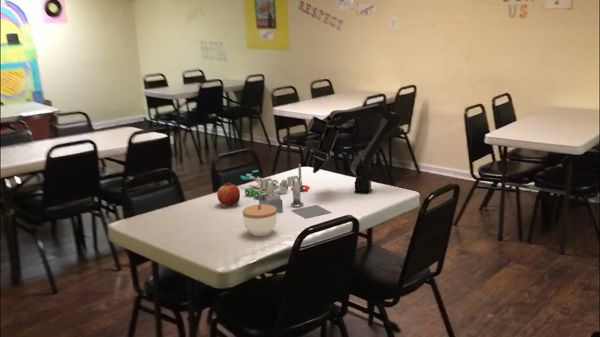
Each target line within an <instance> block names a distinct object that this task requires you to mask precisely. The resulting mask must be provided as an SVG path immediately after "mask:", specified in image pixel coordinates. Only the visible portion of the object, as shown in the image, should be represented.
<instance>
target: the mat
mask: <svg viewBox="0 0 600 337" xmlns="http://www.w3.org/2000/svg"><path fill="white" fill-rule="evenodd" d="M290 211H291V212H293V213H295V214H296V215H298V214H299V215H298V216H300V217H302V218H304V219H309V218H315V217H321V216H323V215H328V214H332V212H331V211H330V210H328V209H327V208H326V209H325V208H324V207H321V206H320V205H318V204H314V205H309V206H305V207H304V206H303V207H298V208H295V209H292V210H290Z"/></svg>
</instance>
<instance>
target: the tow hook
mask: <svg viewBox="0 0 600 337" xmlns="http://www.w3.org/2000/svg"><path fill="white" fill-rule="evenodd" d="M301 167H302V166H301V163H299V164H298V178H300V193H304V192H305V191H306V192H308V191H309V190H310V186H309V185H305V184H303V180H302V168H301ZM304 187H305V188H304ZM290 188H291V189H290V190H291V191H293V188H292V186H291V187H290Z"/></svg>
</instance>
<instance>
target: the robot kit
mask: <svg viewBox="0 0 600 337" xmlns="http://www.w3.org/2000/svg"><path fill="white" fill-rule="evenodd" d="M259 176H260V171H259V169H256V170H252V171H251V173H246V174H245V176H244V175H240V179H242V180H244V181H248V180H251V181H253V182H254V183H256V185H252V187H250V186H249V187H246V188H245V189H244V194H245V197H248V198H249V197H253V196H254V198H255V199H256V200H259V197H260V194H262V193H266V183H265V189H261V183H260V180H261V179H263V178H262V177H259ZM272 180H273V186H274V192H275V194H280V193H284V192H287V191H288V189H289V187H288V185H287V179H282V180H281V182H280V183H279V181H278V180H277V179H272Z"/></svg>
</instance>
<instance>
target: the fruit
mask: <svg viewBox="0 0 600 337" xmlns="http://www.w3.org/2000/svg"><path fill="white" fill-rule="evenodd" d="M216 194H217V199H218V200H217V201H218V202H219V203H220V204H222V205H224V206H228V207H229V206H235V205H237V204H238V203H239V201H240V197H241V192H240V189H239V187H238V186H237V185H235V184H234V183H233V184H232V182H231V181H230V182H226V183H224V185H222V186H220V187H219V188H218V189H217V193H216Z"/></svg>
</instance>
